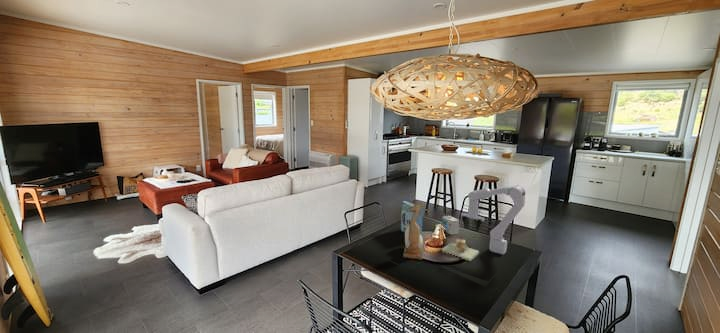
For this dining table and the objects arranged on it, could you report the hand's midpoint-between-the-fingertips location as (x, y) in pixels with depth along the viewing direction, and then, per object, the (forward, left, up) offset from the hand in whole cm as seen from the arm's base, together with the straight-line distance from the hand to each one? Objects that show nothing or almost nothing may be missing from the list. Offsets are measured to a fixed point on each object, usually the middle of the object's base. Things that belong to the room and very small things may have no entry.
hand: (471, 229), depth 195 cm
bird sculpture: (+18, +43, -9) cm, 47 cm away
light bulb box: (+18, -8, -10) cm, 22 cm away
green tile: (-1, +19, -9) cm, 21 cm away
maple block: (-1, +19, -8) cm, 21 cm away
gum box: (+34, +19, -10) cm, 40 cm away
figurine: (+21, +37, -10) cm, 43 cm away
